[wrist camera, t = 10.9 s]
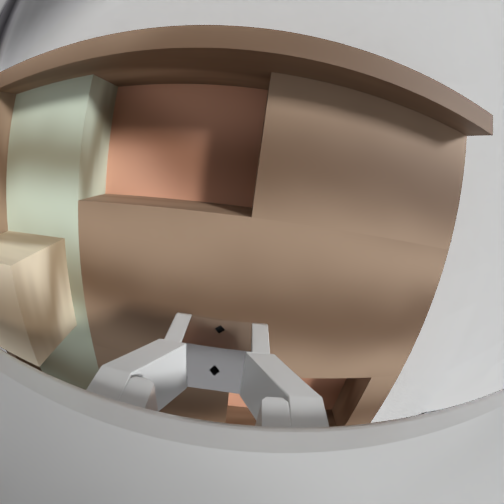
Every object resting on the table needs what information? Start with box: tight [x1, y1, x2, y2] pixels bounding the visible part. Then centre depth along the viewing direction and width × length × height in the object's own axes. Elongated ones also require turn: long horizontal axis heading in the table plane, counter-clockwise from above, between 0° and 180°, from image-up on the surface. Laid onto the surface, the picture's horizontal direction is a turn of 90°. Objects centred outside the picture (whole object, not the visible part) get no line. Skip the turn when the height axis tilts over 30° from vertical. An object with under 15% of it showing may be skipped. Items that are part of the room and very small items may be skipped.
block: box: [0, 231, 77, 367], centre depth 10 cm, size 5×5×4 cm
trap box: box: [0, 25, 493, 427], centre depth 12 cm, size 22×25×5 cm
